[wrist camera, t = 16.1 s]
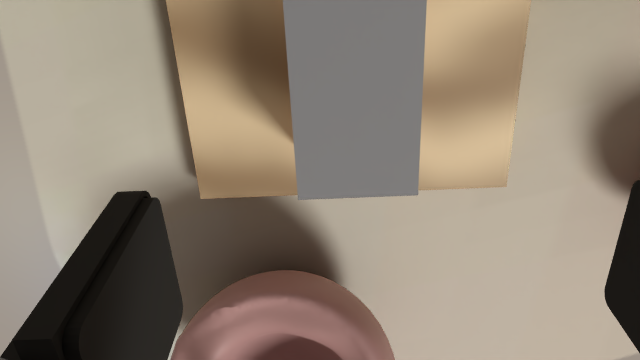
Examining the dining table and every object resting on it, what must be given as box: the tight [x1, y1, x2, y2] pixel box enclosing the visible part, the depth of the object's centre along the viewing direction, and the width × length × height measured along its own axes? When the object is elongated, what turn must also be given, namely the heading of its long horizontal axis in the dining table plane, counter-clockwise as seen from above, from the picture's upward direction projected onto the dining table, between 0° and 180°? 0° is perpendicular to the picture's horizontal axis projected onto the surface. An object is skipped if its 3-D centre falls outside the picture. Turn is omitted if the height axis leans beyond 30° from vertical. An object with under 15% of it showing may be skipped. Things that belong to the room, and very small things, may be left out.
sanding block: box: [283, 0, 427, 200], centre depth 22 cm, size 9×5×5 cm, turn 3°
